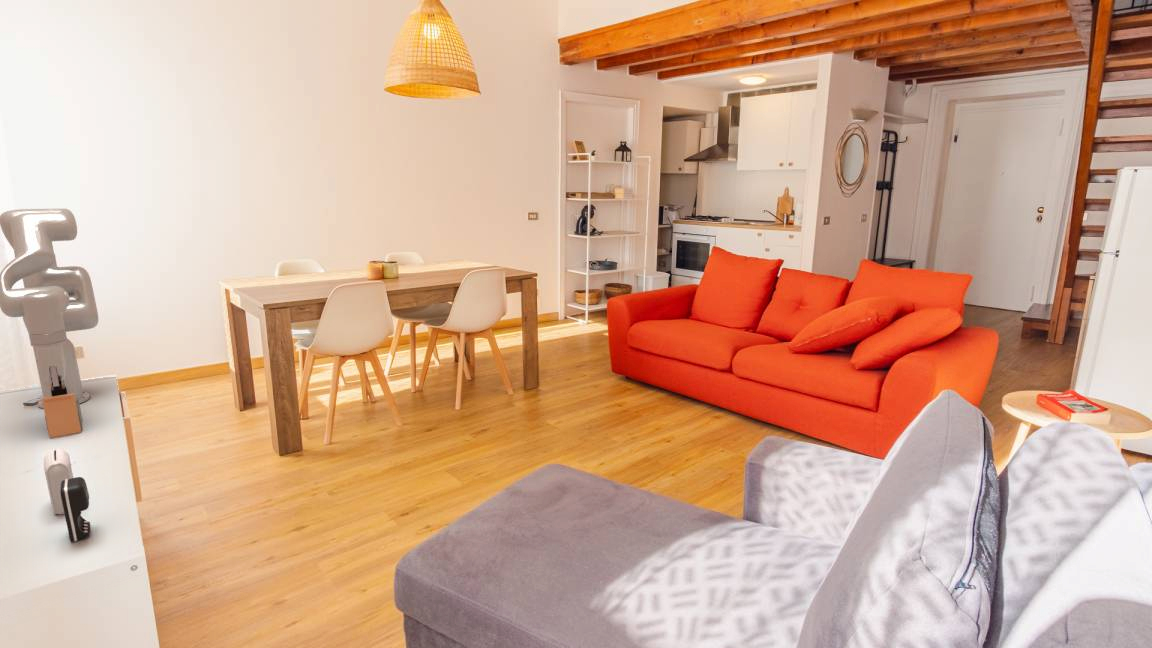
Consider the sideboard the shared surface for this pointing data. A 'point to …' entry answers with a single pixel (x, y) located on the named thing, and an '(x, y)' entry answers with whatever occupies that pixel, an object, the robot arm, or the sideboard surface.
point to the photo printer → (57, 475)
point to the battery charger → (75, 507)
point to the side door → (61, 415)
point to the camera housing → (78, 414)
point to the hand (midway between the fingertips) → (61, 402)
